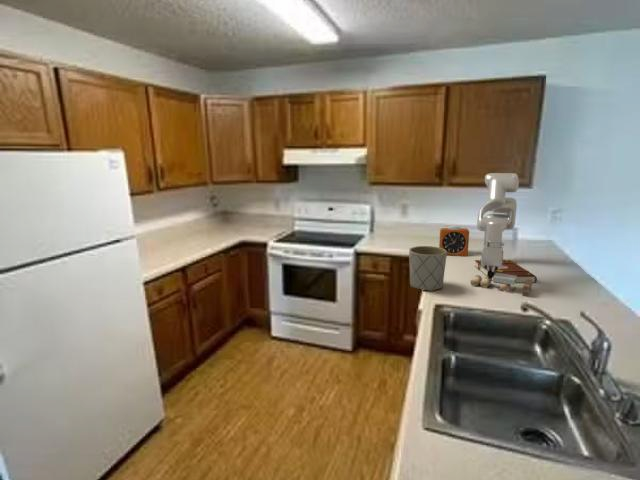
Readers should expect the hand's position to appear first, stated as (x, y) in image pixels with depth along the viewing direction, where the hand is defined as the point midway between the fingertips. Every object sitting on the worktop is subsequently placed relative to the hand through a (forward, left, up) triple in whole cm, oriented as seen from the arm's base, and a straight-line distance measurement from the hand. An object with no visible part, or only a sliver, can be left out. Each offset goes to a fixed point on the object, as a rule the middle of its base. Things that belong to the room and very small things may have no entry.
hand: (490, 277), depth 200 cm
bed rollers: (0, +1, -5) cm, 5 cm away
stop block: (0, +18, -5) cm, 18 cm away
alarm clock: (-54, -35, -5) cm, 65 cm away
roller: (0, +9, -5) cm, 10 cm away
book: (-26, +2, -5) cm, 27 cm away
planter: (+17, -28, -5) cm, 33 cm away
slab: (0, +7, 0) cm, 7 cm away
